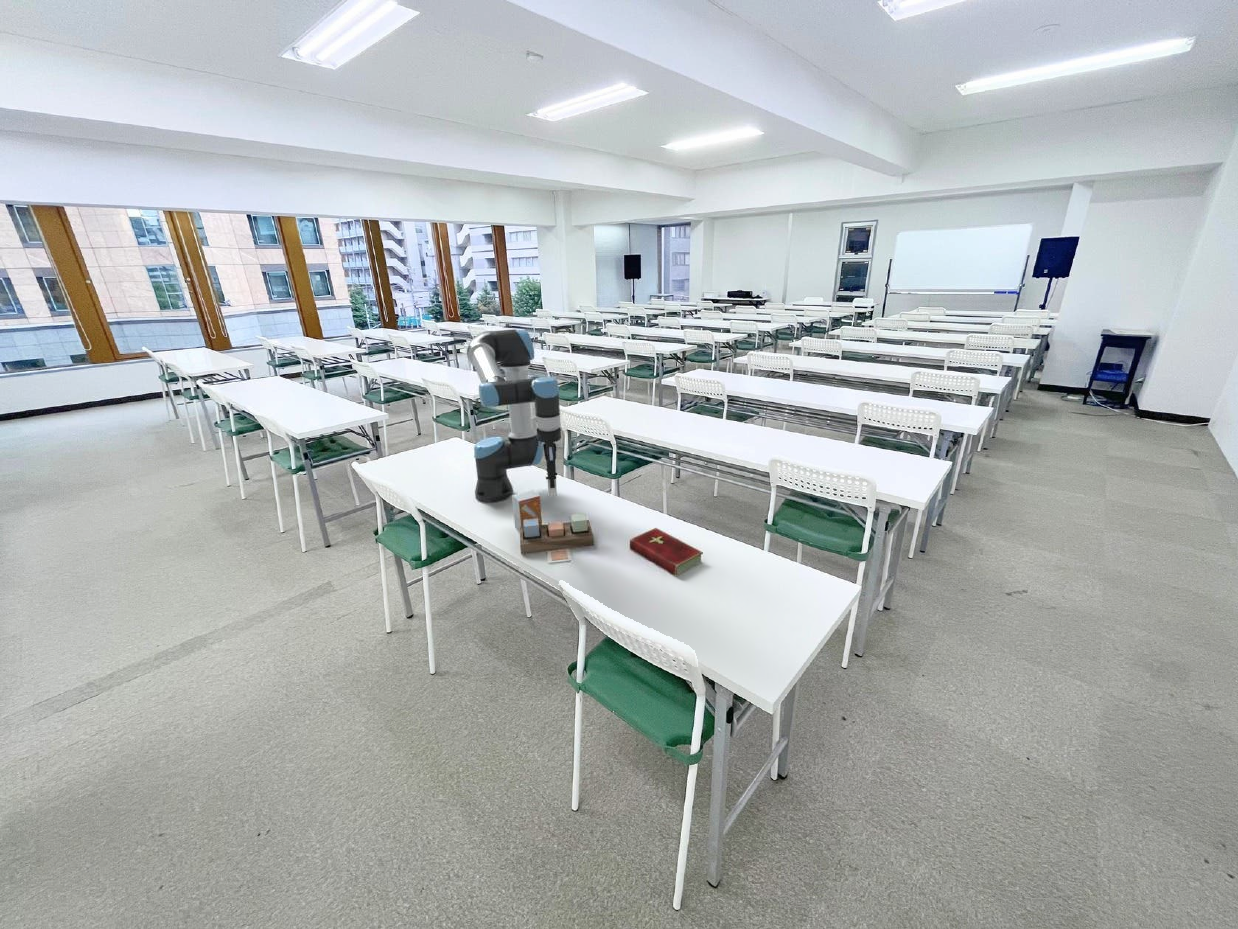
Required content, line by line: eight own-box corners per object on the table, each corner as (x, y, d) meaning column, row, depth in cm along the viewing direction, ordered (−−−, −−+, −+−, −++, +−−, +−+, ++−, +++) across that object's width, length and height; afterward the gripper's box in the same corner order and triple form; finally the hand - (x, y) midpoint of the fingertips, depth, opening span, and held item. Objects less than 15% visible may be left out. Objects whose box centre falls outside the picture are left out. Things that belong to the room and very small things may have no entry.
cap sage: (571, 527, 170) (571, 514, 168) (585, 526, 171) (585, 513, 169) (573, 534, 166) (572, 521, 164) (587, 532, 166) (587, 519, 165)
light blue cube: (524, 532, 167) (523, 519, 165) (538, 531, 168) (537, 518, 166) (524, 539, 163) (523, 526, 161) (539, 538, 164) (538, 525, 162)
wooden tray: (520, 536, 171) (519, 527, 170) (589, 528, 176) (588, 519, 174) (521, 554, 160) (520, 544, 159) (594, 545, 165) (593, 536, 163)
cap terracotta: (548, 536, 169) (547, 523, 168) (562, 534, 170) (562, 521, 168) (549, 543, 165) (548, 530, 163) (564, 541, 166) (563, 528, 164)
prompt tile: (547, 552, 161) (547, 550, 161) (568, 549, 163) (568, 548, 162) (548, 563, 155) (548, 562, 155) (571, 561, 156) (571, 559, 156)
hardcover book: (675, 578, 148) (676, 566, 146) (629, 550, 163) (629, 538, 161) (702, 563, 155) (703, 551, 153) (655, 537, 170) (655, 527, 168)
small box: (521, 535, 172) (518, 501, 167) (514, 527, 177) (511, 494, 172) (543, 528, 176) (540, 495, 171) (535, 521, 181) (532, 489, 176)
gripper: (535, 421, 160) (540, 487, 169) (537, 435, 148) (542, 505, 157) (558, 420, 161) (562, 485, 170) (562, 433, 149) (565, 503, 159)
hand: (552, 495), depth 164 cm, fingers closed
